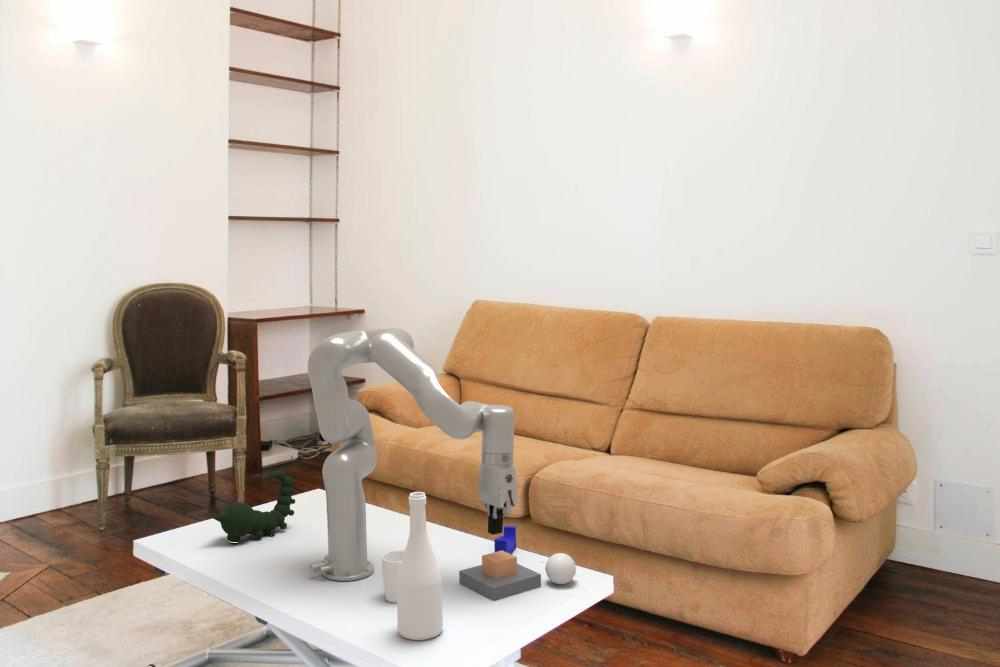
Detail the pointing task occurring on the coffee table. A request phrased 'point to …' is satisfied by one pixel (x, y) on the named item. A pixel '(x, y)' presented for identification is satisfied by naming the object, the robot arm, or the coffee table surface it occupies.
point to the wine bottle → (419, 580)
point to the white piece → (560, 568)
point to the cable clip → (506, 540)
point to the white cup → (391, 573)
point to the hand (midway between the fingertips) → (495, 532)
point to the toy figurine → (258, 513)
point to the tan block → (499, 564)
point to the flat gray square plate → (499, 582)
